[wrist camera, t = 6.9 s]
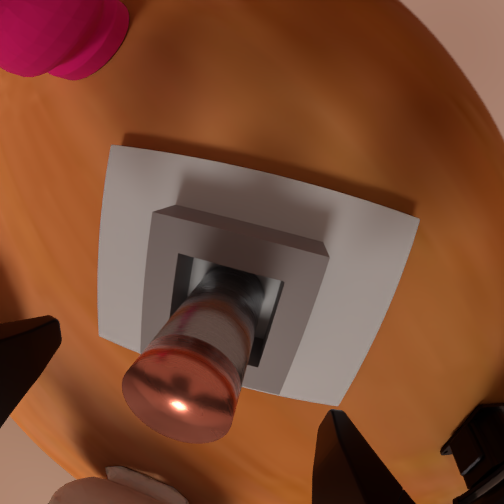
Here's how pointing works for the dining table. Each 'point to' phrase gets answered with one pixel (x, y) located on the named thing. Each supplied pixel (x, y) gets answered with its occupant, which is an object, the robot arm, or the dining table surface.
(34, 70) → the pepper mill
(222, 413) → the pin
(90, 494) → the ceramic pitcher
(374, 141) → the dining table surface
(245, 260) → the grey plate with socket
